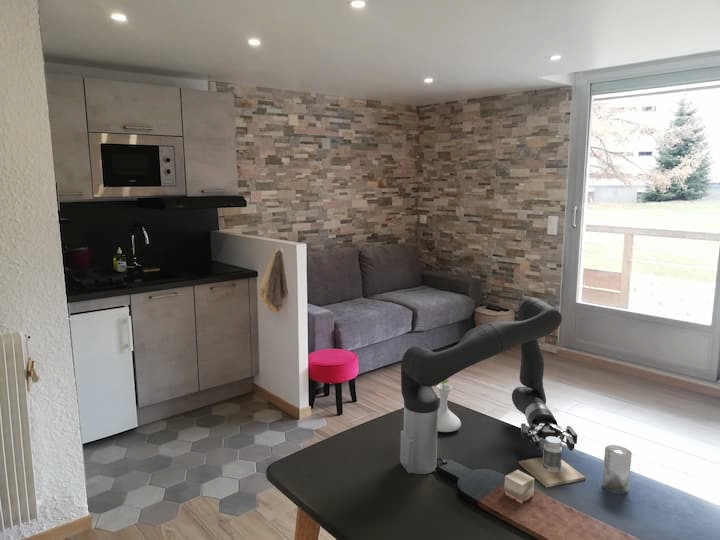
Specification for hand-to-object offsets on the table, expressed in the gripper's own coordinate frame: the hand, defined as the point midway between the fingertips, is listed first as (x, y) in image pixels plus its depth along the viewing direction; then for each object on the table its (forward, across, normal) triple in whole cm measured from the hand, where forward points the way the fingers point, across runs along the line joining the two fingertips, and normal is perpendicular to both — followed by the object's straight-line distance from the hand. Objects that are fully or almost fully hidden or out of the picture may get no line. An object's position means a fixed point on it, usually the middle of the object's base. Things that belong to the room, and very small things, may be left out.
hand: (554, 446), depth 135 cm
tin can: (+4, -14, -8) cm, 17 cm away
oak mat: (-2, 0, -8) cm, 9 cm away
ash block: (+11, +11, -8) cm, 17 cm away
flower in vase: (-24, +28, -8) cm, 38 cm away
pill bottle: (-2, 0, -8) cm, 8 cm away
